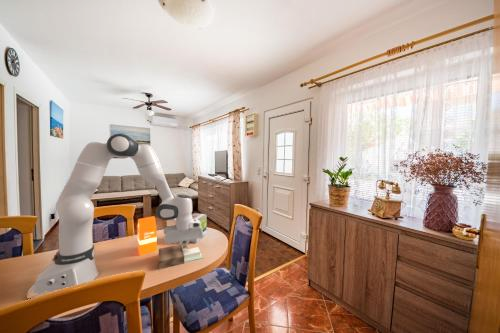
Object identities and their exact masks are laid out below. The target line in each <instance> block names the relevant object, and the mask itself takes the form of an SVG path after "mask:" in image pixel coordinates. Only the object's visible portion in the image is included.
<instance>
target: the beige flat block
mask: <svg viewBox="0 0 500 333" xmlns="http://www.w3.org/2000/svg"><path fill="white" fill-rule="evenodd" d="M182 250H183V253H184V259H185V258H190V257H194V256H199V255H200V252H201V250H200V248H199V246H196V247H192V248H185V249H182Z"/></svg>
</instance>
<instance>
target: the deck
mask: <svg viewBox="0 0 500 333" xmlns="http://www.w3.org/2000/svg"><path fill="white" fill-rule="evenodd" d="M183 250H184V249H182V247H181V245H180V244H177V245H171V246H166V247H160V248H158V269H159V270H163V269H166V268H171V267H175V266H180V265H183V264H185V262H184V253H183Z"/></svg>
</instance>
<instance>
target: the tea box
mask: <svg viewBox="0 0 500 333" xmlns="http://www.w3.org/2000/svg"><path fill="white" fill-rule="evenodd" d="M207 216H208V215H207V214H205V213H192V219H198V220H199V221H200V223H201V227H202V230H203V237H204V236H205V235H207V226H208V225H207V223H208V222H207V219H208V218H207ZM200 240H202V238H198V239H193V240H189V243H194V244H195V243H196V244H197V243H198V242H199V241H200ZM186 242H187V241H185V243H186Z"/></svg>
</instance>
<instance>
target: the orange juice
mask: <svg viewBox="0 0 500 333" xmlns="http://www.w3.org/2000/svg"><path fill="white" fill-rule="evenodd" d="M136 229H137V250H138V254H139V256H144V255H147V254H151V253H155V252H157V251H158V242H157V240H158V239H157V237H158V236H157V224H156V217H155V215H154V216H147V217H143V218H138V219H137V227H136Z"/></svg>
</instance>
